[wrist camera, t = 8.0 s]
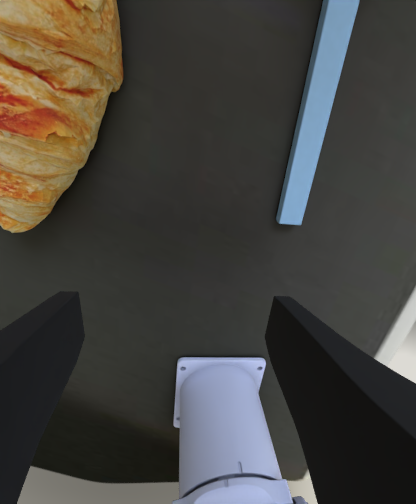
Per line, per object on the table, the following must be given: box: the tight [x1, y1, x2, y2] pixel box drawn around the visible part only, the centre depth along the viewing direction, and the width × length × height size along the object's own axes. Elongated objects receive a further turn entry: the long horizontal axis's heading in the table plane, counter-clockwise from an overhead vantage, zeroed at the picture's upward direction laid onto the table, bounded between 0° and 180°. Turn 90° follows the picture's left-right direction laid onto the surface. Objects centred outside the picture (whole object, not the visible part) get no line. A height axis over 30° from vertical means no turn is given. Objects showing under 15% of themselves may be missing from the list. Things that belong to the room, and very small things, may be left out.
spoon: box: [276, 0, 360, 225], centre depth 15 cm, size 17×5×1 cm, turn 174°
